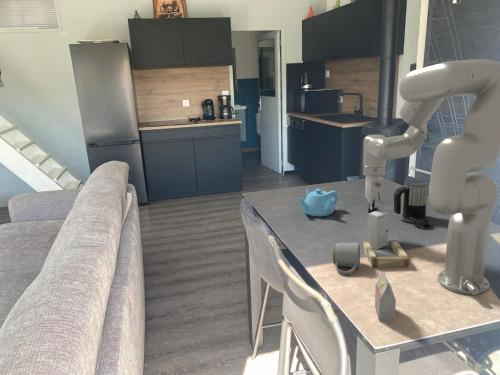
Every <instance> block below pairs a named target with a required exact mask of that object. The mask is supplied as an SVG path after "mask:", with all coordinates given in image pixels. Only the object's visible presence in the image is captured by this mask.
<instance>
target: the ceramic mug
mask: <svg viewBox="0 0 500 375" xmlns="http://www.w3.org/2000/svg"><path fill="white" fill-rule="evenodd" d="M360 249H361V246H360V242H337V243H334V244H333V247H332V263H333V265H335V269H336V272H338V274H340V275H342V276H343V275H344V276H349V275H352V274H353V273H355V270H356V269H359V268H360V266H361V250H360ZM339 267H346V268H351V269H350V270H349V269H348V270H347V271H346V270H345V271H344V270H341V269H339Z"/></svg>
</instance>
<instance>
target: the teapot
mask: <svg viewBox="0 0 500 375" xmlns="http://www.w3.org/2000/svg"><path fill="white" fill-rule="evenodd" d="M305 191H306V192H305V193H306V197H305V199H304V198H303V197H299V198H297V201H298V202H299V204H300V207H301V208H302V211H303V212H304V213H305V214H306V215H307V214H308V215H307V216H310V215H311V216H310V217H314V216H317V217H316V218H321V217H322V216H324V217H328V216H330V214H331V215H332V214H333V213H334V212H335V209H336V207H335V206H336V204H337V203H338V201H339V197H338V193H337V191H336V190H334V189H333V190H331V191H330V190H329V191H328V192H327V191H325V190H323V189H321V188H317V189H315V190H313V191H311V190H310V189H306V190H305ZM318 216H319V217H318ZM322 218H323V217H322Z"/></svg>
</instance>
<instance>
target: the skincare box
mask: <svg viewBox="0 0 500 375" xmlns="http://www.w3.org/2000/svg"><path fill="white" fill-rule="evenodd" d="M389 214H390V213H389V212H387V211H384V210H380V209H378V211H374V212H372V213H368V212H367V241H368V242H369V244H370V246H371V248H372V249H373V250H380V249H381V248H384V247H386V246H387V247H388V244H389V218H390V217H389Z"/></svg>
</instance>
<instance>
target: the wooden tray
mask: <svg viewBox="0 0 500 375" xmlns="http://www.w3.org/2000/svg"><path fill="white" fill-rule="evenodd" d="M390 245H391V246H390V248H391V249H373V248H371V246H370V244H369V242H368V240H362V249H363V251H364V254H365V255H366V256H365V257H367V260H368V262H369V263H370V264H369V265H370V266H371V268H372V269H382V268H383V269H386V268H387V269H388V268H390V269H391V268H410V257H409V256H408V254H407V253H406V252H405V250H404V249H403V248H402V246H401V245H400V243H399V242H398V241H397V240H396V239H392V240H391V244H390Z"/></svg>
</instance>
